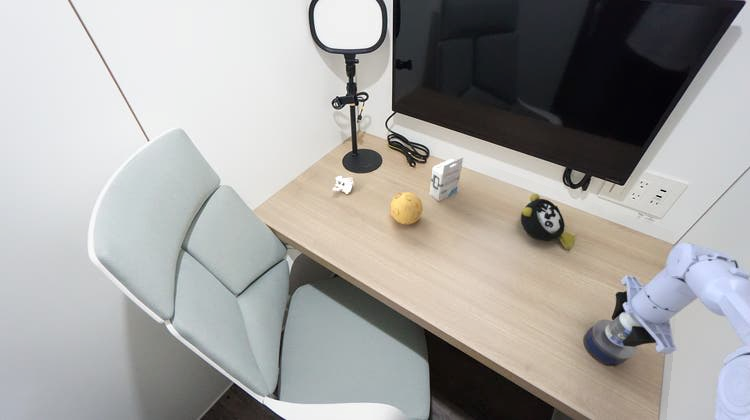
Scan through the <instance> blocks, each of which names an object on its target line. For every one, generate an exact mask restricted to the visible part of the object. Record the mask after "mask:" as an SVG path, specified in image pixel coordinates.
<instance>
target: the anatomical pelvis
mask: <svg viewBox="0 0 750 420" xmlns="http://www.w3.org/2000/svg"><path fill="white" fill-rule="evenodd" d="M353 179H354V178H353V177H343V176H342V175H338V176H336V177H335V183H336V184H335V187H333V188H332V191H333V192H334V191H336V192H340V191H341V192H343V193H345V194H346V195H348V194H350V193H351V191H352V188H353V186H354V180H353Z"/></svg>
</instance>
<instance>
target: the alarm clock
mask: <svg viewBox="0 0 750 420" xmlns="http://www.w3.org/2000/svg"><path fill="white" fill-rule="evenodd" d="M540 197H541V196H540V195H539V194H537V193H532V194H530V197H529V199H530V202H528V203H527V204H526V205H525V206H524V208H523V209H522V212H521V214H520V222H521V223H520V224H521V226H522V229H523V230H524V231H525V233H526V234H527V235H528V236H529V237H531V238H533V239H535V240H537V241H540V242H541V241H542V242H550V241H555V240H557V239H558V240H559V242H560V244H561V245H562V246H563V247H564V249H565V250H569V249H572V248H573V247H574V243H575V241H576V236H575V235H574V234H572V233H570V232H567V231H565V225H566V224H565V220H564V216H563V215H562V213H561V210H560V209H559V207H558V205H555V204H554V203H553V202H552V201H550V200H549V199H545V198H540Z"/></svg>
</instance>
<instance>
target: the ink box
mask: <svg viewBox="0 0 750 420" xmlns="http://www.w3.org/2000/svg"><path fill="white" fill-rule="evenodd" d="M463 160H464V157H460V158H457V159H456V160H455V159H454V158H449V159H448V160H445V161H442V162H441V163H439V164H435V165H434V166H432V170H431V179H430V187H429V195H430V197H432V198H433V199H435V200H436V201H437V202H441V201H442V200H445V199H446V198H449V197H450V196H452V195H454V194H456V193H457V191H458V186H459V182H460V177H461V173H462V168H463Z"/></svg>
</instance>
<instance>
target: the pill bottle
mask: <svg viewBox="0 0 750 420" xmlns="http://www.w3.org/2000/svg"><path fill="white" fill-rule="evenodd" d="M611 321H612V322H611V323H610V324H609V325H608V326H607V327H606V329H605V332H606V335H607V337H608V338H609V339H610V340H611V341H612V342H613V343H614V344H616V345H619V346H623V347H626V346H624V345H623V340H624V339H625V338H627V337H628V336H629V334H630V333H631V330H632V326H638V327H643V326H642V324H641V323H640V322H639V321H638V320H637V319H636V318H635V317H634V315H632V314H628V313H626V312H622V313H621V314H620V315H619V316H618V317H616V318H615V319H614V320H611Z"/></svg>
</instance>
